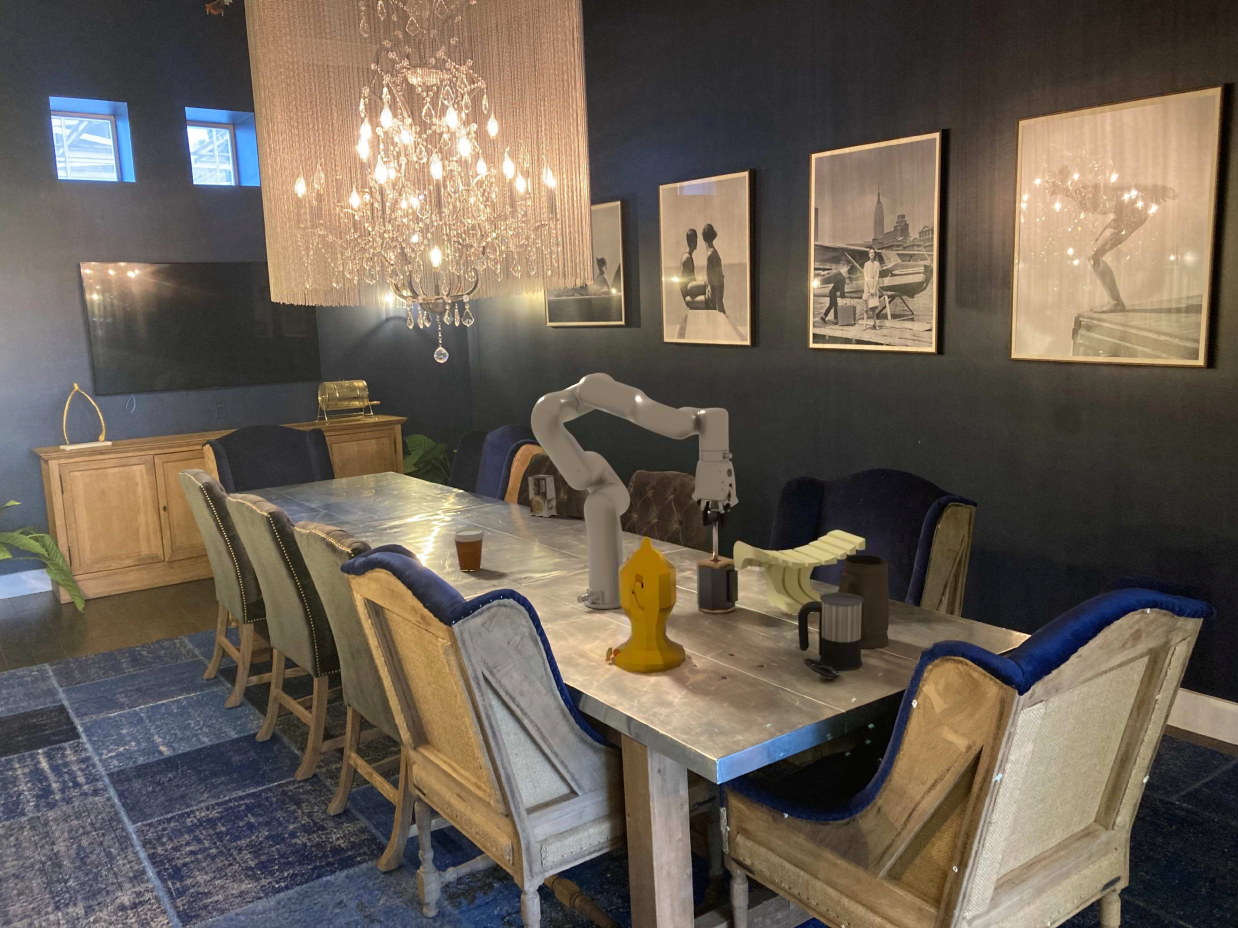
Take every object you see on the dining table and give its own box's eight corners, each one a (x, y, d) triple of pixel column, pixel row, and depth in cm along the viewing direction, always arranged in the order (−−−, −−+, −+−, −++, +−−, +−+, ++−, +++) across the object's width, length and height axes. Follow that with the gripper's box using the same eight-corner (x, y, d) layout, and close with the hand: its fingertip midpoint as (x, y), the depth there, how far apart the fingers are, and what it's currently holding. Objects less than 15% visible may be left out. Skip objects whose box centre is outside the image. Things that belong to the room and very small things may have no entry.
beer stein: (855, 630, 231) (852, 550, 227) (897, 638, 224) (896, 555, 220) (825, 651, 220) (822, 568, 216) (869, 660, 213) (867, 574, 209)
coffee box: (557, 514, 387) (555, 475, 384) (547, 517, 381) (546, 477, 379) (539, 513, 391) (537, 474, 389) (529, 515, 386) (527, 476, 384)
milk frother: (856, 655, 214) (857, 591, 212) (876, 681, 198) (877, 611, 196) (792, 657, 213) (792, 593, 211) (808, 683, 198) (808, 614, 196)
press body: (724, 617, 244) (724, 567, 242) (690, 609, 252) (689, 561, 250) (746, 608, 251) (745, 560, 250) (712, 601, 259) (711, 554, 257)
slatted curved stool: (831, 590, 266) (831, 527, 264) (864, 605, 251) (865, 538, 249) (734, 603, 256) (733, 538, 254) (762, 619, 241) (762, 550, 239)
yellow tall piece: (598, 678, 204) (594, 549, 200) (616, 641, 228) (612, 525, 224) (681, 680, 202) (678, 550, 198) (689, 642, 226) (687, 525, 222)
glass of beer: (448, 571, 299) (446, 533, 298) (467, 564, 308) (465, 528, 306) (473, 574, 295) (471, 536, 293) (491, 567, 303) (489, 530, 302)
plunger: (718, 572, 246) (717, 514, 244) (698, 569, 250) (697, 511, 248) (732, 567, 251) (732, 510, 248) (713, 564, 255) (712, 507, 253)
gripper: (749, 456, 243) (750, 527, 246) (696, 452, 255) (697, 520, 257) (732, 460, 238) (733, 532, 240) (679, 455, 249) (680, 525, 252)
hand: (715, 525), depth 249 cm, fingers closed on plunger, 4 cm apart
